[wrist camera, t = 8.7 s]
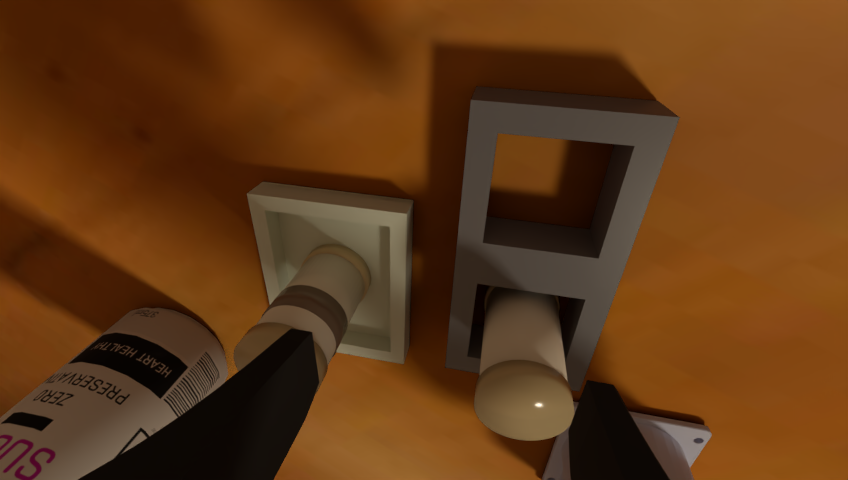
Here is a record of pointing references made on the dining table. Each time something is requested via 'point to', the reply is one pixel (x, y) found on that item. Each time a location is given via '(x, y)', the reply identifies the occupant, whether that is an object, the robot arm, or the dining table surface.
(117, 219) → the dining table surface
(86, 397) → the supplement can
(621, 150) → the block
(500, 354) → the cylinder
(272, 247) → the parts tray
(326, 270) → the fuse
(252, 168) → the dining table surface
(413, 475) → the dining table surface
